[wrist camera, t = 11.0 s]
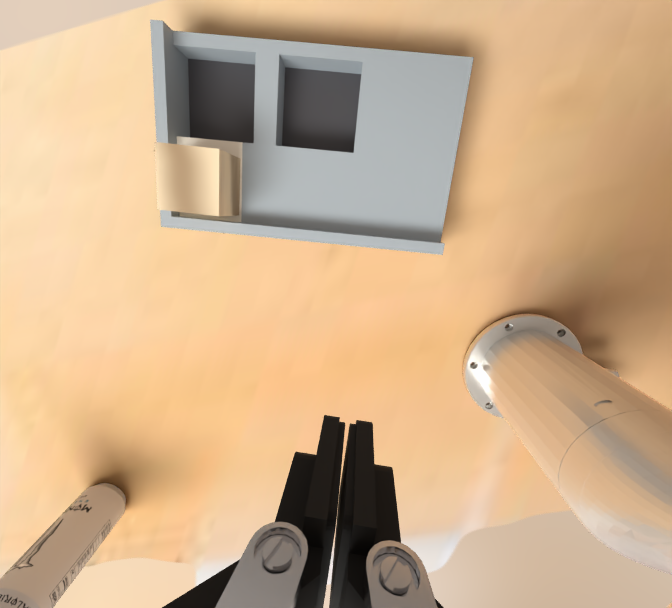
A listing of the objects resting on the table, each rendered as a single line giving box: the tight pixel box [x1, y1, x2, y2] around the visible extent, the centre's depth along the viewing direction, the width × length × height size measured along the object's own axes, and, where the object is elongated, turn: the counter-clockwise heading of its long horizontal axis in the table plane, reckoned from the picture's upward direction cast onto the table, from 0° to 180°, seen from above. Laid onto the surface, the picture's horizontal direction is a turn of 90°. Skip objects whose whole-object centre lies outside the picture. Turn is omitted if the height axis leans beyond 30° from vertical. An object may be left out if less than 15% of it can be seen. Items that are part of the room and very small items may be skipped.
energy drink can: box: [0, 483, 126, 608], centre depth 38 cm, size 6×6×15 cm
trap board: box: [150, 20, 474, 255], centre depth 30 cm, size 26×16×4 cm, turn 85°
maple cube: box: [155, 142, 241, 216], centre depth 28 cm, size 5×5×5 cm
